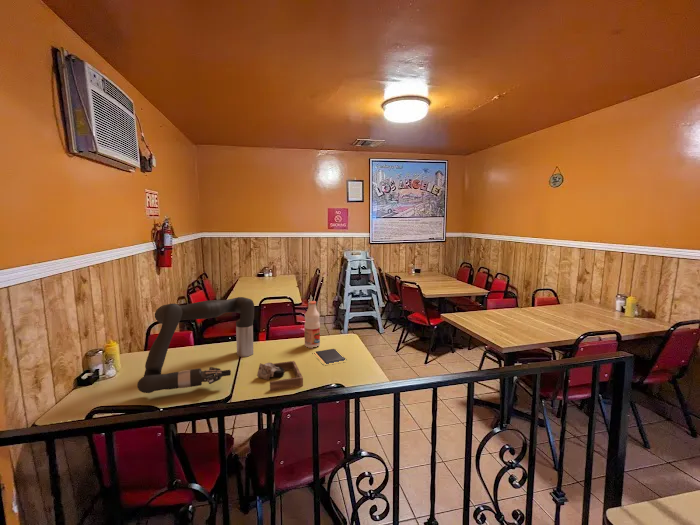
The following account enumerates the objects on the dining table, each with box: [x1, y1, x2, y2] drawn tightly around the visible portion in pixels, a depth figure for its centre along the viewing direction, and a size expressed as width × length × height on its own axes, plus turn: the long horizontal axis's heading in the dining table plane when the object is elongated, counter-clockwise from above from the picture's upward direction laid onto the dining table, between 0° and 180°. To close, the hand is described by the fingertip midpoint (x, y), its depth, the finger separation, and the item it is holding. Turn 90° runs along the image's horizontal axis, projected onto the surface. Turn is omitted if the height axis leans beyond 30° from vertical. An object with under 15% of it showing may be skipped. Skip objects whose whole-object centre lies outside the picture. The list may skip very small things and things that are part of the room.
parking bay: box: [269, 360, 304, 392], centre depth 169 cm, size 20×15×4 cm
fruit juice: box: [304, 300, 321, 349], centre depth 211 cm, size 9×9×28 cm
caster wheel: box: [256, 362, 286, 381], centre depth 172 cm, size 7×11×10 cm
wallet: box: [314, 348, 346, 364], centre depth 196 cm, size 20×2×15 cm
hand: (230, 372), depth 160 cm, fingers closed
